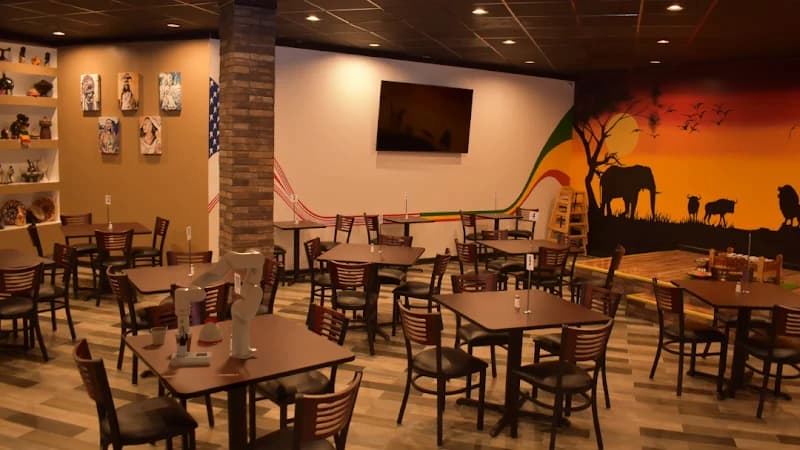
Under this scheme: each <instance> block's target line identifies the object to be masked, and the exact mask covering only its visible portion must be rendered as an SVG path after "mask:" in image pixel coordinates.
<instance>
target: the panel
mask: <svg viewBox="0 0 800 450" xmlns="http://www.w3.org/2000/svg"><path fill="white" fill-rule="evenodd" d="M212 360H213V351H190V352H187V357H178V351H177V352H173V353H172V355H171V358H170V366H172V367H173V366H176V367H179V366H180V367H182V366H203V365H206V366H211V364H212Z"/></svg>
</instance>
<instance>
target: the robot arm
mask: <svg viewBox="0 0 800 450" xmlns="http://www.w3.org/2000/svg"><path fill="white" fill-rule="evenodd" d="M265 261H266V260H265V255H264V254H263V253H261V252H260V251H257V250H255V249H246V250H245V251H244V253H243V252H242V253H240V252H237V251H233V250H230V251H227V252H226V253H225V254H224V255H222V257H221V258H220V259H218V260H217V261H216V262H215V264H214V265H212V267H211V268H210V269H207V270H205V272H203V273H202V274H200V275H198V276H196V278H194V280H193V281H191V283H190V284H189V285H188V286H187V287H179V288H176V289H175V290H174V312H175V316H177V332H178V333H179V334H180V338H179V343H180V346H186V340H188V333H189V331H190V317H189V315H191V302H195V303H199V302H202V301H204V300H205V298H206V297H207V293H206V291H205V288H206V287H208V286H209V285H211V284H213V283H216V282H220V281H221V280H223V279H224V278H225V277H226V276H227V275H229V274H230V272H231V271H232V270H233V269H236V270H244V269H246V275H245V277H244V280H243V282H242V284H241V287H240V290H239V293H240V296H241V297H242V298H243V299H237V300H235V301H234V302H233V303H232V305H231V308H230V314H231V315H230V316H231V320H232V321H231V322H232V323H231V324H232V325H231V352H230V353H228V356H229V357H231V358H235V359H236V358H237V359H240V360H247V359H250V358H251V357H252V356H253V354H258V349H256V348H251V346H250V338H251V337H250V330H251V329H250V328H251V324H250V321H251V320H253V319H254V318H255V317H256V314H257V312H258V310H259V307H260V305H261V302H262V299H263V297H264V296H263V295H264V291H263V289H262V287H261V286H260V283H261V282H262V281H261V280H262V277H263V273H264V271H263V270H264V269H263V267H264V266H263V265H264V264H265Z"/></svg>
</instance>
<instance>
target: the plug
mask: <svg viewBox="0 0 800 450" xmlns="http://www.w3.org/2000/svg"><path fill="white" fill-rule="evenodd" d="M177 350H178V351H177ZM176 351H177V352H178V357H187V343H186V346H180V343H179V344H177V343H176Z"/></svg>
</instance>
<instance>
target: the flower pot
mask: <svg viewBox="0 0 800 450" xmlns="http://www.w3.org/2000/svg"><path fill="white" fill-rule="evenodd" d="M167 330H168V328H167V327H164V326H161V327H160V326H159V327H157V326H156V327H152V328H150V330H149V331H150V333H151V339H152V344H153V345H155V346H157V345H159V346H160V345H164V344H165V339H166V334H167Z"/></svg>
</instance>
